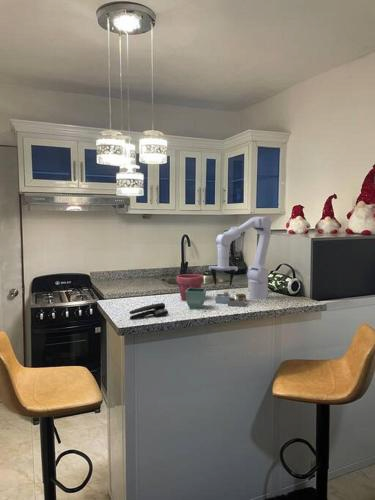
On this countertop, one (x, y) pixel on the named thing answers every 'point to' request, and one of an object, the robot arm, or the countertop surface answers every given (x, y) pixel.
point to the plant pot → (188, 283)
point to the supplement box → (264, 281)
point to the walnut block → (241, 296)
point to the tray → (236, 302)
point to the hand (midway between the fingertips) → (223, 284)
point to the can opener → (158, 311)
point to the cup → (222, 298)
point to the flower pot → (195, 297)
